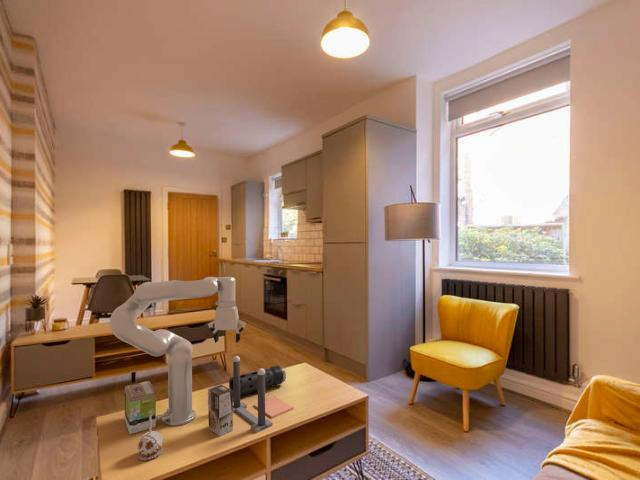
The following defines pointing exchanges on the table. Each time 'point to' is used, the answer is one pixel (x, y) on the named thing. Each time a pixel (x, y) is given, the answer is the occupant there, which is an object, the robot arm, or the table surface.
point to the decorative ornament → (150, 443)
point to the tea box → (139, 406)
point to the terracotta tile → (275, 407)
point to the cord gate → (239, 407)
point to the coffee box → (220, 409)
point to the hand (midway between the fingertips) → (227, 341)
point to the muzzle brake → (251, 380)
